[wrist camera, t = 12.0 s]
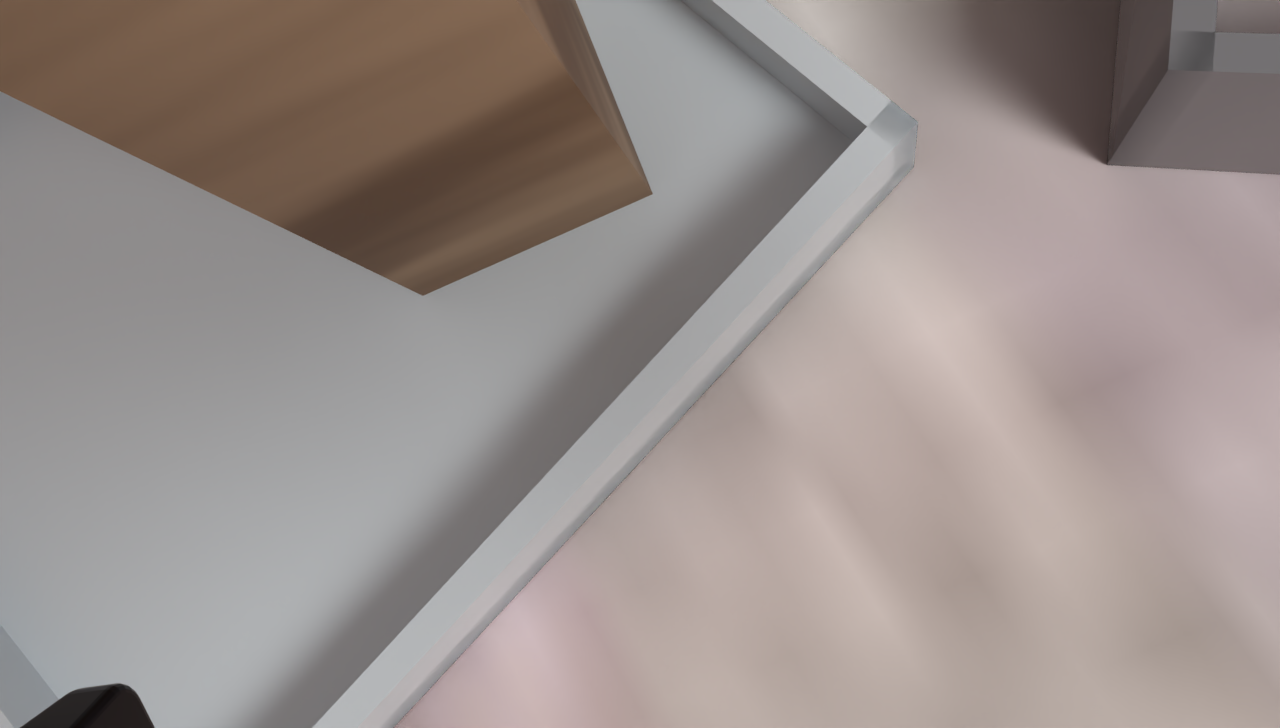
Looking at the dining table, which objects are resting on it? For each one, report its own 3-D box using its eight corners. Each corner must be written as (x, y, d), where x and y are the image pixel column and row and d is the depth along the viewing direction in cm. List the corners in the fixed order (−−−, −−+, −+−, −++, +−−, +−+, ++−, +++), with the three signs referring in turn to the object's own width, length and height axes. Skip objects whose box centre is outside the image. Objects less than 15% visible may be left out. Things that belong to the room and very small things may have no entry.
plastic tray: (226, 907, 22) (146, 955, 20) (-212, 346, 26) (-322, 329, 24) (914, 166, 21) (918, 122, 19) (347, -293, 25) (292, -378, 23)
